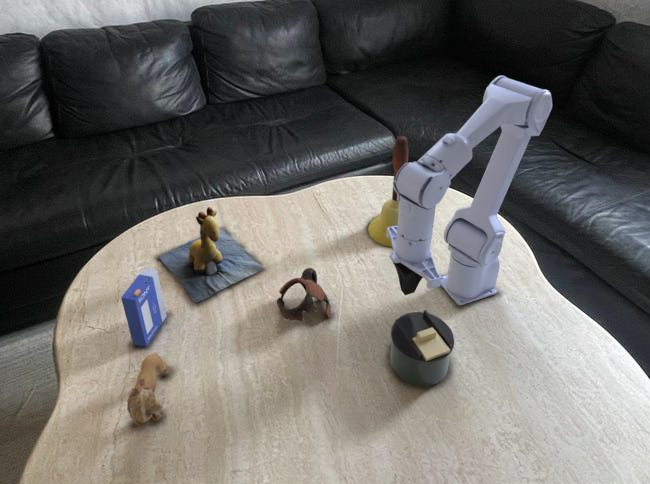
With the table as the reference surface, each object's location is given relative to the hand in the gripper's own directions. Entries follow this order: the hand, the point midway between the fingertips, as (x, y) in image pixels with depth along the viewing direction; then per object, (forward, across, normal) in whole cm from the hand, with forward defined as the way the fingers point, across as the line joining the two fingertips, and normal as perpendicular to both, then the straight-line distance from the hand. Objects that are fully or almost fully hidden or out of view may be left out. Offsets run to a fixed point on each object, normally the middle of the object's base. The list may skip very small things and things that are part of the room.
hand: (408, 291), depth 91 cm
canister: (+10, +7, -1) cm, 12 cm away
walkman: (+10, -18, -44) cm, 49 cm away
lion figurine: (+10, -2, -45) cm, 46 cm away
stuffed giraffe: (+10, -32, -30) cm, 45 cm away
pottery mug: (+10, -12, -15) cm, 22 cm away
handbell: (+10, -27, +13) cm, 32 cm away
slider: (+3, +9, -1) cm, 10 cm away
